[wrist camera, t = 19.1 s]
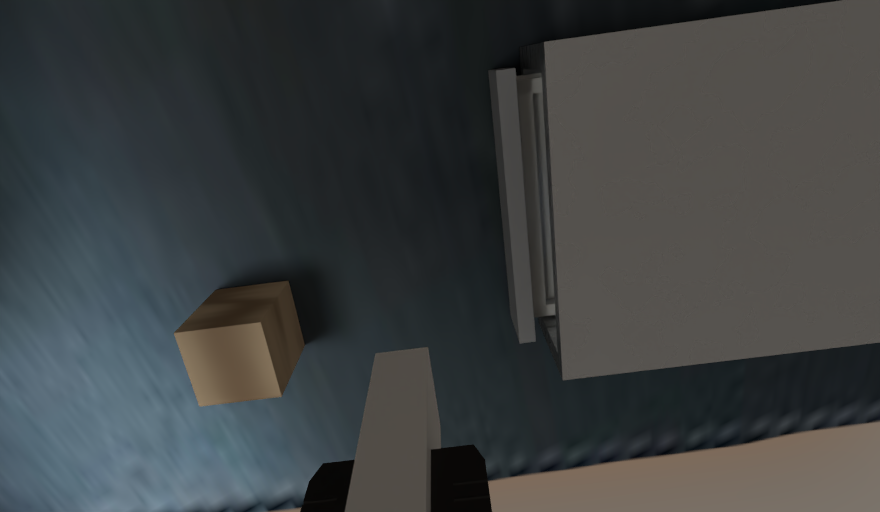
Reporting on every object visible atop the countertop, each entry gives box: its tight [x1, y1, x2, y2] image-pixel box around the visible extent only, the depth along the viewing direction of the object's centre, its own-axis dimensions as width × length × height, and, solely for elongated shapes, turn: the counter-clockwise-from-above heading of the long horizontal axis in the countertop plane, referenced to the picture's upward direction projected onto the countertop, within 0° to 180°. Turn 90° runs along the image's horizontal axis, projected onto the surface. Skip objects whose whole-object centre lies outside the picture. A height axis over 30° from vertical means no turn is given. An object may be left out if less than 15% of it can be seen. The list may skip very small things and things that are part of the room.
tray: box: [488, 68, 555, 343], centre depth 31 cm, size 18×16×4 cm
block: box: [174, 281, 305, 406], centre depth 33 cm, size 5×5×6 cm
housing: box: [519, 0, 880, 380], centre depth 29 cm, size 22×18×7 cm
